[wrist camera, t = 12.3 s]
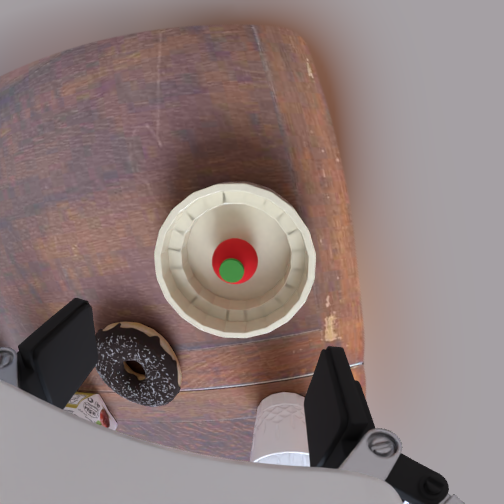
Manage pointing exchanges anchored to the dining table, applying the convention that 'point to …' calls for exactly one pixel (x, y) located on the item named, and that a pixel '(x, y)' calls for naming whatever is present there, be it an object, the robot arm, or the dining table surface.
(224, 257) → the tomato
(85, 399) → the juice carton
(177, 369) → the donut
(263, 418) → the white cup
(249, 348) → the dining table surface
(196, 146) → the dining table surface
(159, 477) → the robot arm
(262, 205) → the bowl
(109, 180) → the dining table surface
